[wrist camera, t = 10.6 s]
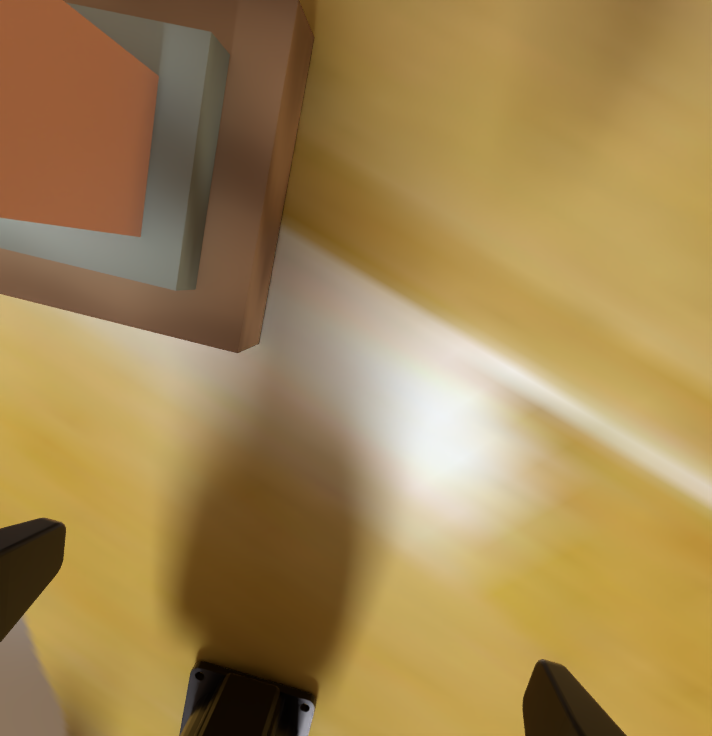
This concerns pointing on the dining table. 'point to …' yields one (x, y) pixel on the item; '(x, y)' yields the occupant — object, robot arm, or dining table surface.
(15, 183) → the terracotta brick
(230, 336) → the plinth
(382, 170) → the dining table surface
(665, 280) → the dining table surface
